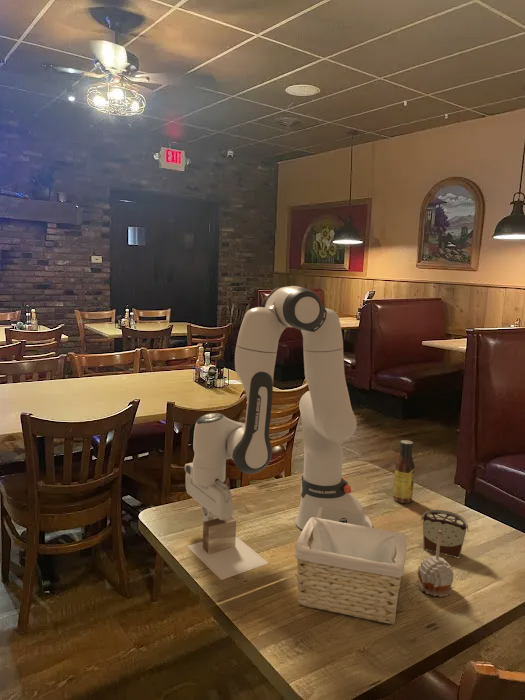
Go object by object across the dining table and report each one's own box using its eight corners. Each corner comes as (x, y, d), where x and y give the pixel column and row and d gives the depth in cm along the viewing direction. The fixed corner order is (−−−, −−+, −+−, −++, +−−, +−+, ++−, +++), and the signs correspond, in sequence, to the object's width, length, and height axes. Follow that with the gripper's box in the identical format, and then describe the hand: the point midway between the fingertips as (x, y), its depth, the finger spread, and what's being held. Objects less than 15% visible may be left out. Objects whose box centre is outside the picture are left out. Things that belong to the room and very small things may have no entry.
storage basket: (289, 606, 123) (293, 545, 120) (306, 568, 138) (309, 514, 136) (398, 632, 116) (404, 568, 114) (403, 589, 131) (408, 532, 129)
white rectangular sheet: (186, 547, 146) (186, 545, 146) (231, 533, 154) (231, 532, 153) (221, 581, 131) (221, 579, 131) (268, 564, 139) (268, 563, 139)
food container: (467, 549, 151) (471, 515, 149) (465, 559, 145) (469, 524, 144) (421, 537, 156) (424, 505, 154) (417, 547, 150) (421, 513, 149)
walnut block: (202, 548, 145) (203, 522, 143) (228, 540, 149) (229, 514, 148) (209, 554, 142) (209, 527, 141) (235, 546, 146) (236, 520, 145)
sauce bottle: (414, 504, 177) (419, 446, 174) (394, 503, 177) (400, 445, 174) (409, 496, 183) (414, 439, 180) (390, 495, 183) (395, 438, 180)
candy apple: (438, 577, 137) (444, 521, 134) (457, 596, 129) (464, 537, 127) (411, 581, 135) (416, 524, 132) (428, 600, 127) (434, 540, 125)
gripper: (239, 484, 141) (237, 534, 143) (201, 459, 157) (200, 504, 160) (218, 489, 137) (216, 540, 140) (181, 463, 154) (181, 509, 156)
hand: (207, 520), depth 150 cm, fingers closed
